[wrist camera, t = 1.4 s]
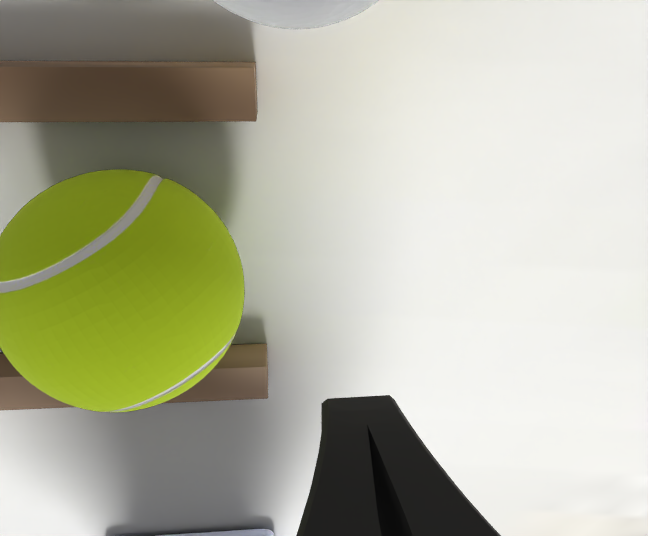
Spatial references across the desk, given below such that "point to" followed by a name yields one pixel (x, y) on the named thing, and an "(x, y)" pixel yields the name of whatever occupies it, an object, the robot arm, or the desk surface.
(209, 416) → the desk surface
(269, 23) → the supplement bottle
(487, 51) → the desk surface
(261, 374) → the level stand
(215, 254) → the tennis ball
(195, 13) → the desk surface
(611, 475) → the desk surface
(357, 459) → the robot arm
